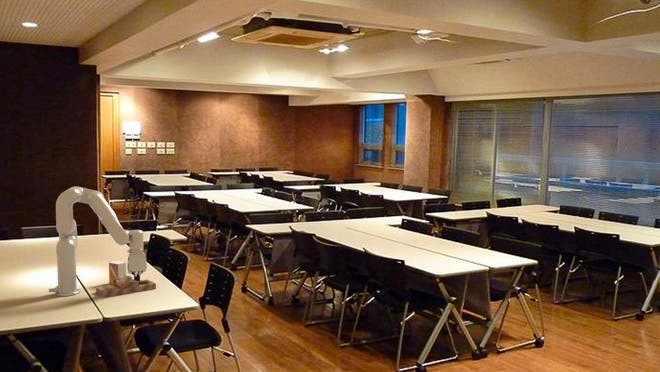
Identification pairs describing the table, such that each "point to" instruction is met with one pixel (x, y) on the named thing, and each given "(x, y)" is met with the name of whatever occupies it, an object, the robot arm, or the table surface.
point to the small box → (116, 270)
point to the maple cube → (125, 279)
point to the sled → (121, 282)
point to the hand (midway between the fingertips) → (137, 282)
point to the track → (125, 288)
